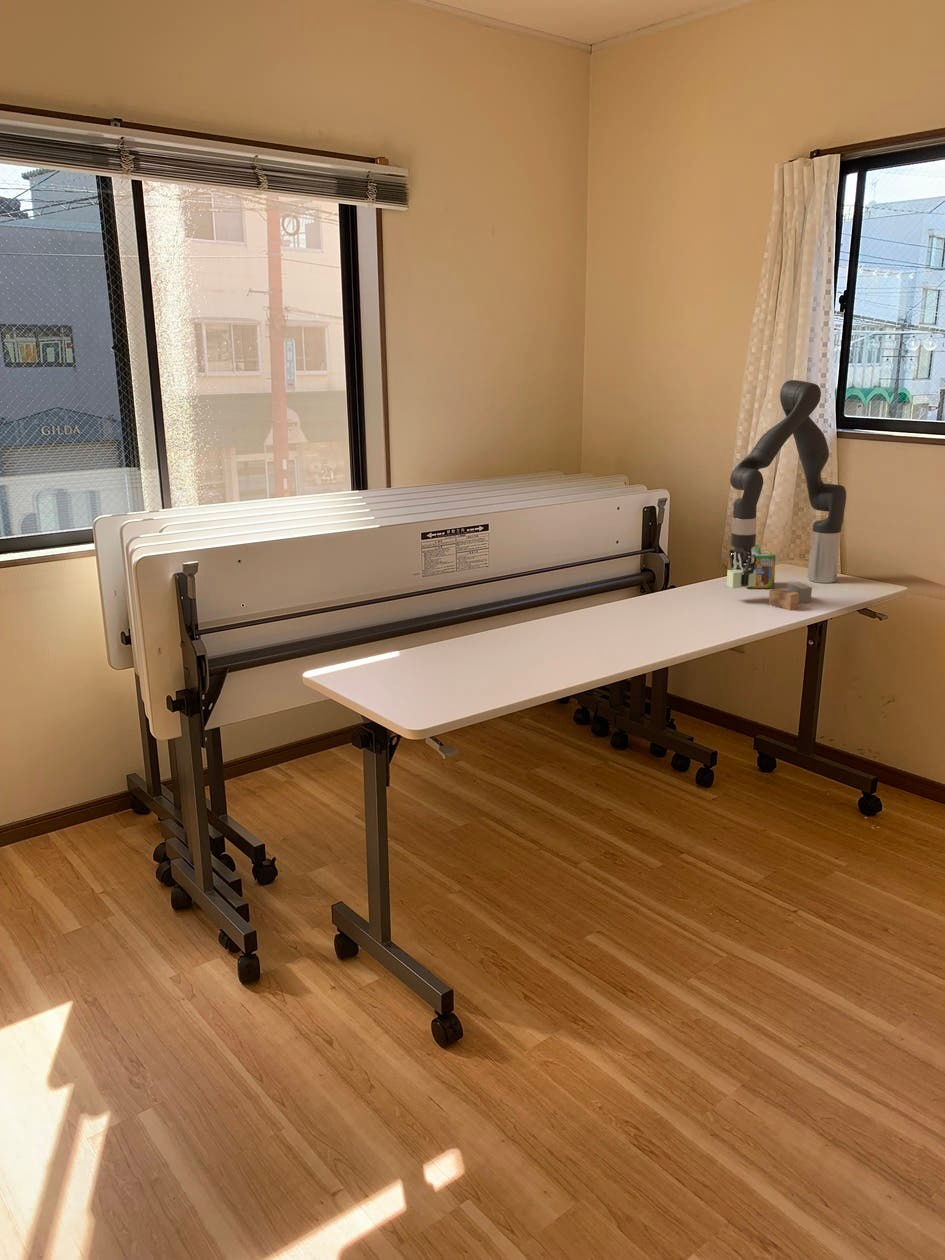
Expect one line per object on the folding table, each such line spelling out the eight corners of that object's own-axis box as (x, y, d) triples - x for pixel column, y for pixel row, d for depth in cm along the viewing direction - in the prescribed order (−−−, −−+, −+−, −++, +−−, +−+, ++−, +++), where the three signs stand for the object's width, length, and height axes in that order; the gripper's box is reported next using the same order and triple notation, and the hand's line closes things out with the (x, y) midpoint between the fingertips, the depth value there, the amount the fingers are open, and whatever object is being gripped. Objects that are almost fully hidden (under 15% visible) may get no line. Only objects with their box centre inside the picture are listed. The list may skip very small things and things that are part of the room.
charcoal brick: (786, 597, 319) (787, 582, 318) (797, 596, 320) (799, 581, 318) (799, 603, 311) (800, 588, 310) (810, 602, 312) (811, 587, 311)
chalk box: (774, 588, 330) (777, 545, 326) (747, 589, 330) (749, 546, 326) (766, 582, 339) (769, 540, 335) (740, 582, 339) (742, 540, 335)
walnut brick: (768, 605, 310) (769, 590, 309) (776, 603, 312) (777, 588, 311) (789, 610, 304) (791, 595, 302) (797, 608, 306) (799, 593, 305)
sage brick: (732, 588, 312) (733, 573, 311) (726, 585, 316) (727, 570, 315) (755, 586, 314) (756, 570, 313) (749, 583, 318) (750, 568, 316)
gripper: (766, 534, 304) (762, 588, 309) (743, 526, 317) (740, 578, 322) (743, 536, 303) (741, 590, 308) (722, 528, 316) (720, 580, 321)
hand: (741, 583), depth 315 cm, fingers closed on sage brick, 4 cm apart
